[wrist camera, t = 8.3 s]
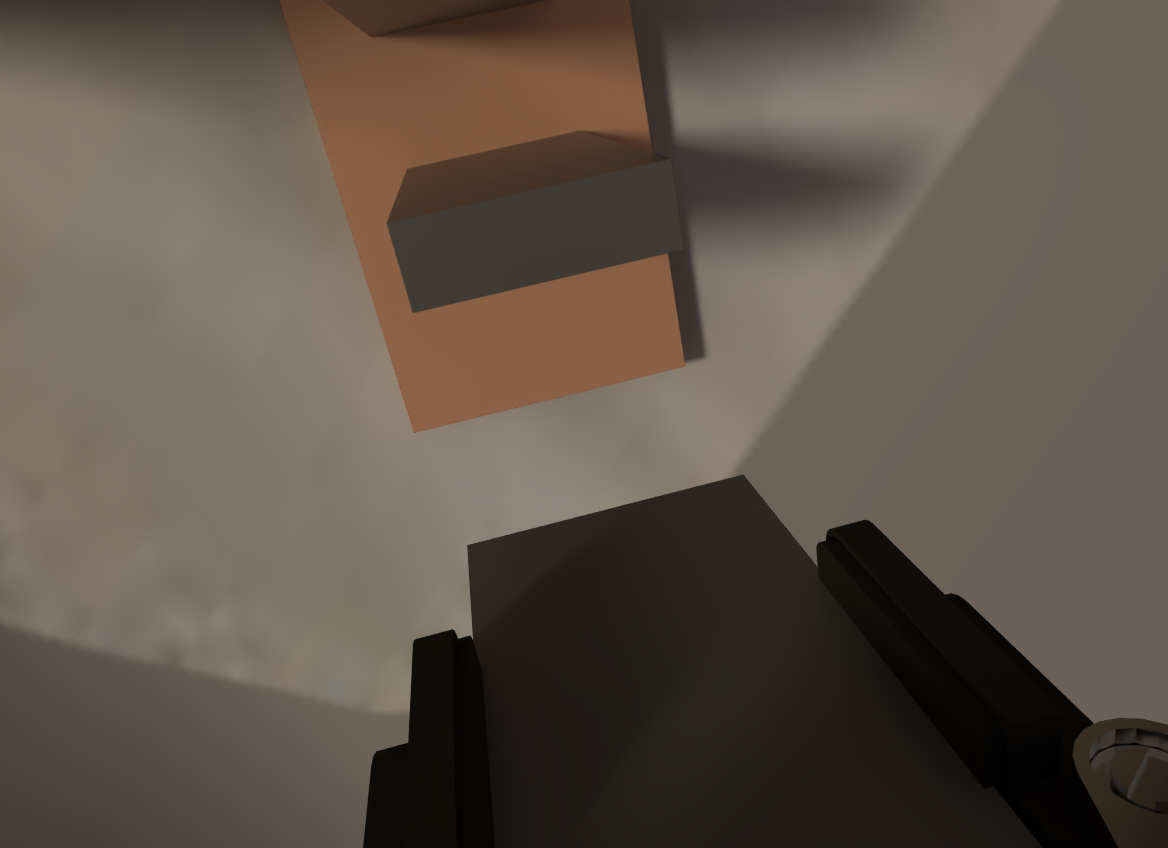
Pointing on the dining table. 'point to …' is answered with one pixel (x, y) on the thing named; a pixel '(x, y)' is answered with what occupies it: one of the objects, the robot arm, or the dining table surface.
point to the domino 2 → (530, 216)
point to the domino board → (472, 125)
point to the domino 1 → (413, 12)
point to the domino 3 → (701, 693)
